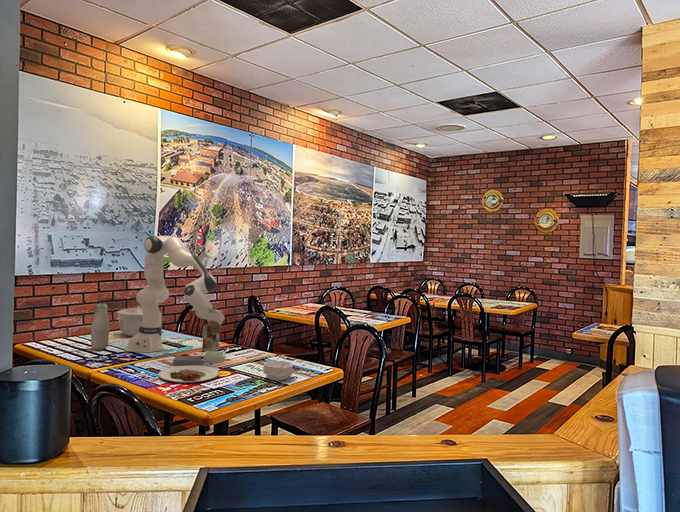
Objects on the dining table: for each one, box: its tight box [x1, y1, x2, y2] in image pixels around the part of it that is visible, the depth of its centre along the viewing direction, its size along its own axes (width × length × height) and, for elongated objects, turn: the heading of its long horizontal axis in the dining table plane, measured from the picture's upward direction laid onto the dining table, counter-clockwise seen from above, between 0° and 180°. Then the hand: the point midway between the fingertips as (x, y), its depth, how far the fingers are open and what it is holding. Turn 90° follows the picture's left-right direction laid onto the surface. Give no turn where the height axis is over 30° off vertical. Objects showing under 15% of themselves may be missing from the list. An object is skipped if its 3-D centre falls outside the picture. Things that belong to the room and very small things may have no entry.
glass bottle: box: [90, 303, 111, 351], centre depth 297 cm, size 10×10×28 cm
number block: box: [209, 320, 222, 334], centre depth 288 cm, size 4×5×10 cm
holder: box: [202, 351, 226, 363], centre depth 289 cm, size 12×12×3 cm
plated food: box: [157, 365, 220, 384], centre depth 253 cm, size 30×30×3 cm
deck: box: [172, 355, 202, 367], centre depth 276 cm, size 14×10×3 cm
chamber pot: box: [116, 305, 143, 338], centre depth 344 cm, size 28×28×21 cm
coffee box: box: [201, 323, 221, 352], centre depth 311 cm, size 9×6×16 cm
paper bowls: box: [263, 360, 294, 382], centre depth 257 cm, size 15×15×8 cm
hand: (216, 323), depth 289 cm, fingers closed on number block, 5 cm apart
